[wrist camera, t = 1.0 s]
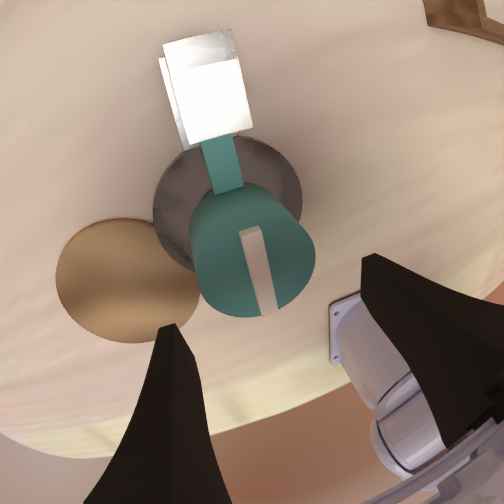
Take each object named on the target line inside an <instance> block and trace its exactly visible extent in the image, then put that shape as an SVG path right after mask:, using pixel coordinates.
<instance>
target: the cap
mask: <svg viewBox="0 0 504 504" xmlns="http://www.w3.org/2000/svg"><path fill="white" fill-rule="evenodd" d="M200 146H201V150H202V153H203V157H204V160H205V164H206V167H207V171H208V175H209V178H210V182H211V185H212V189H213V191H211V192H210V193H208V194H207V195H206V196H205V197H204V198H203V199H202V200H201V201H200V202H199V203H198V205H197V206H196V208H195V209H194V211H193V213H192V216H191V219H190V223H189V239H190V244H191V250H192V255H193V261H194V266H195V271H196V276H197V281H198V286H199V289H200V292H201V294H202V296H203V298H204V299H205V300H206V302H207V303H208V304H209V305H210V306H212V307H213V308H214V309H216V310H217V311H219V312H221V313H224V314H226V315H230V316H234V317H256V316H261V315H262V316H264V315H267V314H270V313H273V312H276V311H278V309H280V308H282V307H283V306H285V305H287V304H288V303H289V302H291V301H292V300H293V299H294V298H295V297H297V296H298V295H299V294H300V292H301V291H302V290H303V289H304V287H305V286H306V285H307V283H308V281H309V279H310V278H311V275H312V273H313V269H314V266H315V249H314V245H313V242H312V240H311V238H310V236H309V235H308V233H307V232H306V231H305V230H304V229H303V227H302V226H301V225H300V224H299V223H298V222H297V220H296V219H295V218H294V217H293V216H292V215H291V214H290V212H289V211H288V210H287V209H286V208H285V207H284V206H283V204H282V203H281V202H280V201H279V200H278V199H277V198H276V197H275V195H274V194H272V193H271V192H270V191H269V190H267V189H266V188H264V187H262V186H260V185H257V184H254V183H249V182H243V179H242V175H241V171H240V166H239V162H238V158H237V154H236V150H235V145H234V141H233V137H232V133H229V134H225V135H222V136H218V137H215V138H211V139H208V140H204V141H201V142H200Z"/></svg>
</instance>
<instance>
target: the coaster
mask: <svg viewBox="0 0 504 504" xmlns="http://www.w3.org/2000/svg"><path fill="white" fill-rule="evenodd" d="M158 235H159V234H158V233H157V232H156V231H155V228H154V225H153V224H150V223H147V222H143V221H139V220H133V219H112V220H106V221H102V222H99V223H96V224H93V225H91V226H89V227H87V228H85V229H83V230H82V231H80V232H79V233H78V234H76V235H75V236H74V237H73V238H72V239H71V240H70V242H69V243H68V244H67V246H66V247H65V249H64V251H63V253H62V255H61V257H60V259H59V262H58V265H57V269H56V288H57V292H58V295H59V298H60V301H61V303H62V305H63V306H64V308H65V310H66V311H67V313H68V314H69V315H70V316H71V317H72V318H73V319H74V320H75V321H76V322H77V323H78V324H79V325H80V326H82V327H83V328H84V329H86V330H87V331H89V332H91V333H93V334H95V335H97V336H99V337H102V338H104V339H107V340H111V341H115V342H121V343H144V342H150V341H154V340H156V336H157V332H158V329H159V328H160V327H163V326H166V325H170V324H173V323H175V324H176V325H177V327H178V329H179V328H180V327H182V326H183V325H184V324H185V323H186V322H187V321H188V320H189V318H190V317H191V316H192V314H193V313H194V311H195V309H196V307H197V304H198V301H199V297H200V289H199V286H198V281H197V276H196V273H195V272H193V271H191V270H188V269H186V267H183V266H181V265H180V264H178V262H176V261H175V260H173V259H172V258H171V257H170V256H169V255H168V254H167V252H166V251H165V250H164V248H163V247H162V245H161V243H160V242H161V240H160V241H159V236H158ZM161 235H162V234H161ZM162 236H163V235H162ZM162 236H161V237H162ZM165 236H166V235H165ZM164 239H165V238H164ZM167 240H168V237H167ZM167 240H166V241H167ZM169 241H170V239H169ZM169 241H168V243H169ZM171 243H173V241H172V242H171V241H170V244H171ZM173 244H174V243H173ZM173 244H172V245H173ZM174 245H175V246H176V244H174ZM174 245H173V246H174ZM177 246H178V244H177ZM177 246H176V247H175V248H177V249H178V250H179V249H180V250H181V248H178V247H177ZM179 247H180V246H179ZM169 249H170V248H169ZM177 249H176V250H177ZM178 250H177V251H178ZM180 250H179V251H180ZM183 250H184V249H183ZM183 250H182V251H181V252H185V253H182V254H183V255H184V254H187V253H186V251H183ZM179 251H178V252H179ZM181 252H179V253H180V254H181ZM182 254H181V256H182ZM187 255H188V254H187ZM185 256H186V255H184V256H182V257H185ZM186 257H187V256H186ZM186 257H185V258H186ZM188 258H189V257H188ZM189 260H190V261H191V258H190V259H189ZM189 260H188V261H189ZM190 261H189V262H190ZM191 262H192V261H191ZM191 262H190V263H191ZM188 264H189V263H188ZM191 265H193V263H192V264H191ZM191 265H190V266H191ZM191 268H192V267H191ZM192 269H193V268H192ZM194 270H195V269H194Z"/></svg>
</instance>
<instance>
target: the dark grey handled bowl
mask: <svg viewBox="0 0 504 504" xmlns="http://www.w3.org/2000/svg"><path fill="white" fill-rule="evenodd" d="M163 52H164V57H163V58H159V63H160V67H161V71H162V74H163V78H164V82H165V85H166V89H167V93H168V96H169V100H170V104H171V107H172V111H173V114H174V118H175V121H176V125H177V128H178V132H179V135H180V138H181V142H182V145H183V149H184V152H183V153H181V154H180V155H179V156H178V157H177V158H176V159H175V160H174V161H173V162H172V163H171V164H170V166H169V167H168V168H167V169H166V171H165V172H164V174H163V176H162V177H161V179H160V182H159V184H158V186H157V189H156V193H155V196H154V204H153V222H154V228H155V231H156V232H157V233H158V234H159V235H158V236H159V241H160V240H161V242H160V243H161V245H162V247H163V248H164V250H165V251H166V252H167V254H168V255H169V256H170V257H171V258H172V259H173V260H175V261H176V262H178V264H180V265H181V266H183V267H186V269H188V270H191V271H193V272H195V273H196V271H195V270H194V269H195V266H194V261H193V255H192V250H191V244H190V239H189V223H190V219H191V216H192V213H193V211H194V209H195V208H196V206H197V205H198V203H199V202H200V201H201V200H202V199H203V198H204V197H205V196H206V195H207V194H208V193H210V192H211V191H213V189H212V185H211V182H210V178H209V175H208V171H207V167H206V164H205V160H204V157H203V153H202V150H201V146H200V142H201V141H204V140H208V139H211V138H215V137H218V136H222V135H225V134H229V133H232V137H233V141H234V145H235V150H236V154H237V158H238V162H239V166H240V171H241V175H242V179H243V182H249V183H254V184H257V185H260V186H262V187H264V188H266V189H267V190H269V191H270V192H271V193H272V194H274V195H275V197H276V198H277V199H278V200H279V201H280V202H281V203H282V204H283V206H284V207H285V208H286V209H287V210H288V211H289V212H290V214H291V215H292V216H293V217H294V218H295V219H296V220H297V222H298V223H299V220H300V216H301V211H302V191H301V187H300V183H299V180H298V177H297V175H296V173H295V171H294V169H293V168H292V166H291V165H290V164H289V162H288V161H287V160H286V159H285V158H284V157H283V156H282V155H281V154H280V153H279V152H277V151H276V150H274V149H273V148H272V147H270V146H268V145H267V144H265V143H263V142H261V141H258V140H255V139H252V138H248V137H243V136H237V135H239V133H238V131H240V130H244V129H248V128H252V127H253V124H252V119H251V115H250V110H249V105H248V101H247V96H246V92H245V87H244V83H243V78H242V74H241V70H240V65H239V61H238V57H237V52H236V48H235V44H234V40H233V35H232V31H231V29H227V30H222V31H216V32H212V33H207V34H202V35H198V36H194V37H190V38H186V39H182V40H178V41H174V42H171V43H167V44H164V45H163ZM161 234H162V235H163V236H162V235H161ZM165 235H166V236H165ZM161 236H162V237H161ZM167 237H168V240H167ZM164 238H165V239H164ZM169 239H170V241H171V242H172V241H173V243H174V244H176V246H177V244H178V246H177V247H178V248H181V250H180V249H179V250H180V251H179V250H178V249H177V248H175V247H176V246H175V245H174V244H173V243H171V244H170V241H169ZM166 240H167V241H166ZM168 241H169V243H168ZM172 244H173V245H174V246H173V245H172ZM179 246H180V247H179ZM169 248H170V249H169ZM176 249H177V250H178V251H179V252H181V251H182V250H183V249H184V250H183V251H186V253H187V254H188V255H187V254H184V255H186V256H187V257H186V256H185V257H186V258H185V257H182V256H184V255H183V254H182V253H185V252H181V254H182V256H181V254H180V253H179V252H178V251H177V250H176ZM188 257H189V258H188ZM190 258H191V261H192V262H191V261H190V260H189V259H190ZM188 260H189V261H190V262H191V263H190V262H189V261H188ZM188 263H189V264H188ZM192 263H193V265H191V264H192ZM190 265H191V266H190ZM191 267H192V268H193V269H192V268H191Z"/></svg>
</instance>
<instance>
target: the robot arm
mask: <svg viewBox="0 0 504 504" xmlns="http://www.w3.org/2000/svg"><path fill="white" fill-rule="evenodd" d="M329 312H330V363H331V364H332V365H336V364H338V363H341V364H342V366H343V368H344V369H345V371H346V373H347V375H348V376H349V378H350V380H351V381H352V383H353V385H354V387H355V388H356V390H357V392H358V394H359V395H360V397H361V399H362V400H363V402H364V403H365V404H366V405H367V406H368V407H369V408H371V409H372V413H373V414H374V416H375V418H376V419H375V420H373V421H372V423H371V430H370V438H371V442H372V445H373V448H374V450H375V452H376V454H377V455H378V457H379V459H380V460H381V461H382V463H383V464H384V465H385V466H386V467H387V468H388V469H389V470H390V471H391V472H393V473H395V474H396V475H398V476H399V477H400V478H401V479H402V480H403V482H401V483H400V484H398V485H396V486H394V487H392V488H390V489H389V490H387V491H385V492H383V493H381V494H379V495H377V496H375V497H373V498H371V499H369V500H367V501H365V502H363V503H360V504H397V503H399V502H401V501H402V500H404V499H406V498H407V497H409V496H411V495H413V494H414V493H416V492H418V491H431V490H439V492H438V493H437V494H435V495H434V496H432V497H430V498H429V499H427V500H425V501H424V502H422V503H420V504H504V305H499V304H495V303H491V302H487V301H484V300H480V299H477V298H474V297H470V296H468V295H465V294H462V293H459V292H457V291H454V290H452V289H449V288H447V287H444V286H442V285H440V284H438V283H435V282H433V281H431V280H429V279H427V278H425V277H423V276H420V275H418V274H416V273H414V272H412V271H410V270H408V269H406V268H405V267H403V266H401V265H399V264H397V263H395V262H393V261H391V260H389V259H387V258H385V257H383V256H380V255H378V254H376V253H374V254H371V255H368V256H366V257H363V258H362V268H361V290H360V293H358V294H356V295H353V296H351V297H348V298H346V299H343V300H341V301H338V302H336V303H334V304H332V305H331V306H330V309H329ZM83 504H232V502H231V499H230V497H229V494H228V491H227V489H226V486H225V484H224V481H223V478H222V475H221V472H220V470H219V466H218V464H217V460H216V457H215V454H214V451H213V447H212V444H211V440H210V435H209V431H208V425H207V419H206V412H205V406H204V399H203V393H202V386H201V380H200V376H199V372H198V368H197V364H196V361H195V357H194V355H193V353H192V351H191V350H190V348H189V346H188V345H187V343H186V341H185V339H184V338H183V336H182V334H181V333H180V331H179V329H178V327H177V325H176V324H175V323H173V324H170V325H166V326H163V327H160V328H159V329H158V332H157V336H156V340H155V344H154V348H153V352H152V356H151V360H150V363H149V367H148V370H147V374H146V377H145V381H144V384H143V387H142V390H141V393H140V396H139V399H138V402H137V405H136V407H135V410H134V413H133V415H132V418H131V420H130V423H129V425H128V427H127V430H126V432H125V434H124V436H123V438H122V440H121V442H120V445H119V447H118V448H117V450H116V452H115V454H114V456H113V458H112V459H111V462H110V463H109V465H108V466H107V468H106V470H105V472H104V473H103V475H102V477H101V478H100V480H99V481H98V482H97V484H96V485H95V487H94V488H93V490H92V491H91V493H90V494H89V495H88V497H87V498H86V499H85V501H84V502H83Z"/></svg>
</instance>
